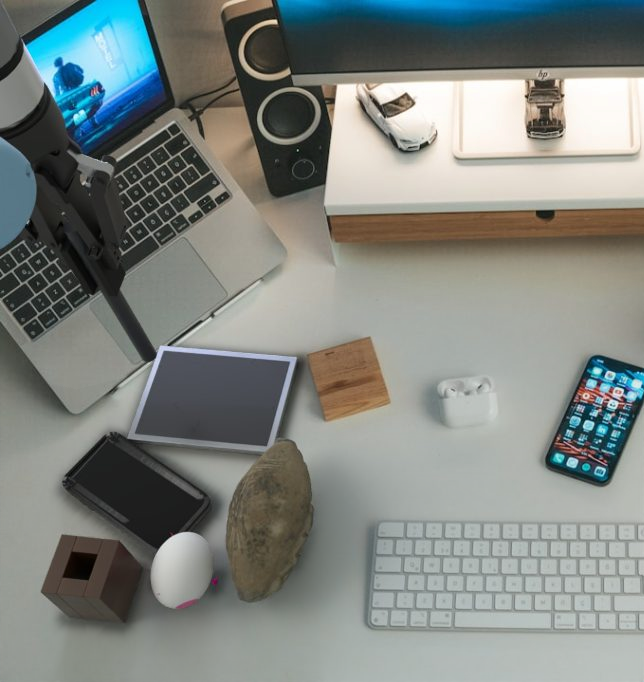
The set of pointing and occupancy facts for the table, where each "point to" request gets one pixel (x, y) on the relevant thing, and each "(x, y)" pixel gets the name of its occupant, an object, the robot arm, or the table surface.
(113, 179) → the robot arm
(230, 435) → the tablet
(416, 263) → the table surface
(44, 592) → the pen stand
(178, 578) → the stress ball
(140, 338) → the stylus
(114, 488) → the phone
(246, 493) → the stone
